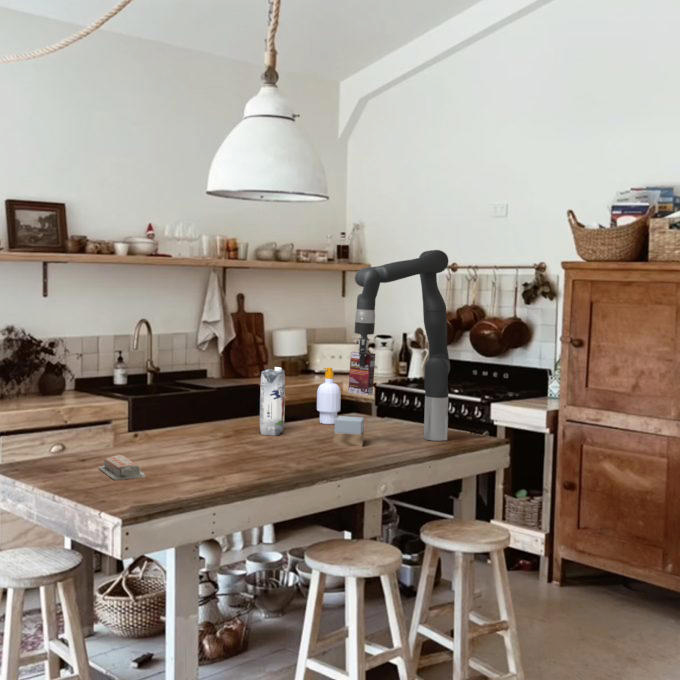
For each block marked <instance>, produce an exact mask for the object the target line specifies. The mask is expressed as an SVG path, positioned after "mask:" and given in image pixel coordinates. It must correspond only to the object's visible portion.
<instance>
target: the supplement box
mask: <svg viewBox="0 0 680 680" xmlns="http://www.w3.org/2000/svg"><path fill="white" fill-rule="evenodd" d="M359 358H360V356H359V351H357V350H356V351H351V352H350V362H349V378H348V390H347V392H348V394H354V395H362V396H371V395H373V394H374V393H373V392H374V391H373V390H374V379H375V367H376V353H372V352H367V353H366V357H365V366H359Z"/></svg>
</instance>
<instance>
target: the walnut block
mask: <svg viewBox="0 0 680 680" xmlns="http://www.w3.org/2000/svg"><path fill="white" fill-rule="evenodd" d="M364 431H365V430H364ZM364 431H363V432H362V433H361V435H359V434H341V433H334V432H335V430H334V432H333V437H332V438H333V441H332V446H333V445H336V446H335V447H351V446H362V445H363V444H364V437H365V434H364ZM363 446H364V445H363ZM363 446H362V447H363Z"/></svg>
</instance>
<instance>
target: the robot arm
mask: <svg viewBox="0 0 680 680" xmlns="http://www.w3.org/2000/svg"><path fill="white" fill-rule="evenodd" d="M448 266H449V256H448V255H447V253H446V252H444V251H443V250H441V249H434V250H432V249H431V250H426V251H425V250H424V251H423V252H422V253H420V255H419V256H418V258H412V259H407V260H406V259H405V260H399V261H394V262H389V263H386V264H382V265H378V266H370V267H369V266H368V267H365V268H364V267H363V268H361V269H359V270H358V271H357V272H356V273H355V276H354V281H355V283H356V284H357V286H359V287H361V288H362V292H361V293H360V294H358V295H357V299H356V312H355V319H354V334H357V335H360V338H358V342H357V343H358V352H359V356H360V358H359V366H365V357H366V353H368V350H369V344H370V338H369V337H368V335H369V336H370V335H375V326H376V325H375V324H376V323H375V322H376V300H377V296H378V293H379V290H380V285H381V284H386V283H391V282H392V283H393V282H395V281H399V280H403V279H406V278H409V277H413V276H414V277H415V276H416V275H419V278H420V285H421V296H422V297H421V298H422V312H423V315H422V316H423V325H424V331H425V334H426V338H427V342H428V360H427V361H426V363H425V365H424V384H423V385H424V391H425V392H424V418H423V420H424V421H423V439H424V440H427V441H432V442H433V441H435V442H436V441H437V442H439V441H440V442H441V441H448V429H449V427H448V425H449V415H448V413H449V388H448V387H449V386H448V382H449V380H448V379H449V377H448V376H449V374H450V371H451V363H450V357H449V350H448V317H447V315H448V314H447V305H446V302H445V299H444V298H443V295H442V293H441V291H440V289H439V285H438V279H437V276H438V275H437V274H441V273H443V272H445V270H446V269H447V268H448Z"/></svg>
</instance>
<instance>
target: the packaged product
mask: <svg viewBox="0 0 680 680" xmlns="http://www.w3.org/2000/svg"><path fill="white" fill-rule="evenodd" d="M103 464H104V465H102V466H99V465H98V469H99V470H100V471H101V472H103V473H104V474H105V475H106V476H108V477H110V478H111V479H112V480H113V481H122V480H130V479H131V480H132V479H133V480H134V479H144V478H146V473H144V472H143V471H141V470H140V466H139V464H137V463H136V462H135V461H133V460H131V459H130V458H128V457H127V456H125V455H122V454H115V455H113V456H110V457H107V458H105V459H104V460H103Z"/></svg>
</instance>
